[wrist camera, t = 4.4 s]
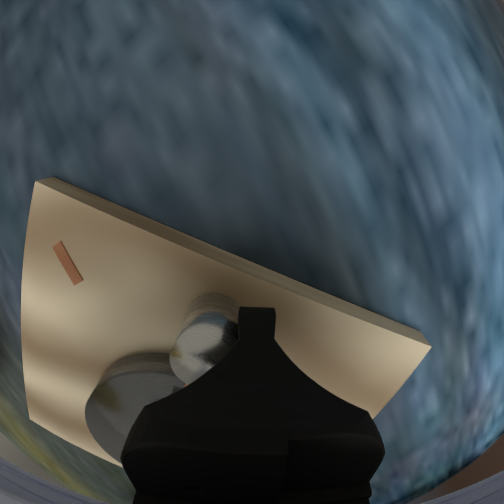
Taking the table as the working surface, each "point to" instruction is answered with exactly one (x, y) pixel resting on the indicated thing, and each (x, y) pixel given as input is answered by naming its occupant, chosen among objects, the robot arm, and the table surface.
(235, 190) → the table surface
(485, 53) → the table surface
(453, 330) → the table surface
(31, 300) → the base plate
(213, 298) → the dial
